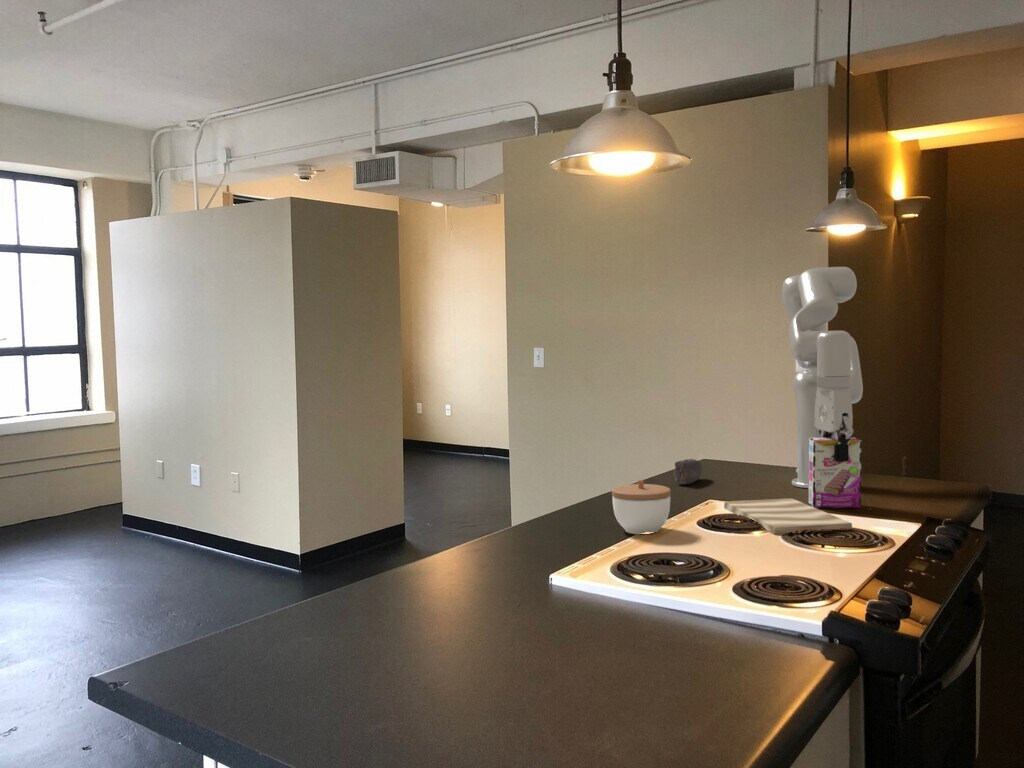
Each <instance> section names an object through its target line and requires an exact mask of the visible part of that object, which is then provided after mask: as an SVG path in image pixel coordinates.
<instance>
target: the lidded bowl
mask: <svg viewBox="0 0 1024 768" xmlns="http://www.w3.org/2000/svg"><path fill="white" fill-rule="evenodd" d="M671 495H672V490H671V488H670V487H668V486H665V485H660V484H653V483H650V484H649V483H645V480H644V479H638V480H637V483H633V484H620V485H617V486H615V487H613V488H611V496H612V500H611V501H612V508H613V514H614V516H615V519H616V521H617V522H618V524H619V525H620V526H621V527H622V528H623V529H624V531H625V532H626V533H627V534H632V535H640V534H641V533H645V532H656V531H658V530H660V529H661V528H662V527H663V526H664V525H665V524H666V522H667V521H668V518H669V515H670V510H671ZM658 532H659V531H658Z"/></svg>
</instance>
